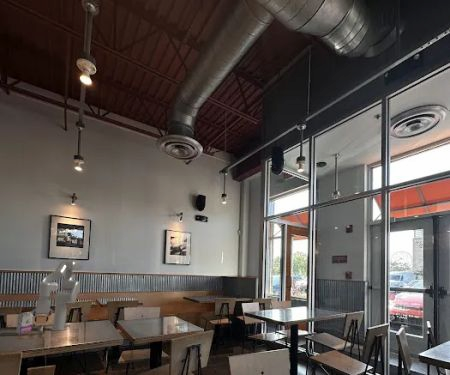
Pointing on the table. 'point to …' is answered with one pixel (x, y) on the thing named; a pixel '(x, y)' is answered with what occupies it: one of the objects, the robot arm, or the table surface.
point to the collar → (41, 319)
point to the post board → (33, 334)
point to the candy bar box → (24, 322)
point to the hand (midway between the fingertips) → (41, 321)
